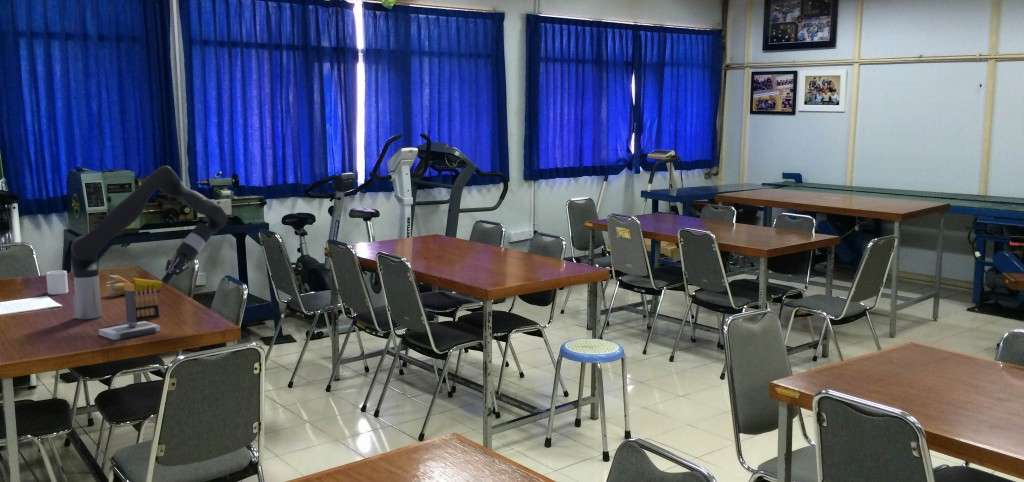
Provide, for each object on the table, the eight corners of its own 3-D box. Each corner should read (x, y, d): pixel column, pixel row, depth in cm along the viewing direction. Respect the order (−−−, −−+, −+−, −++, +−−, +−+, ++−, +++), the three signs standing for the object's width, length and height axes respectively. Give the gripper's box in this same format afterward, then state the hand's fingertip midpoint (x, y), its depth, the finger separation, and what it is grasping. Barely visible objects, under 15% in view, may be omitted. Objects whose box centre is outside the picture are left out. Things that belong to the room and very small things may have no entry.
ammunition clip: (132, 320, 358) (130, 291, 357) (130, 319, 360) (128, 290, 358) (159, 316, 365) (157, 288, 363) (158, 316, 366) (156, 287, 365)
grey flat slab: (144, 326, 349) (144, 320, 349) (160, 330, 341) (159, 325, 341) (98, 334, 336) (98, 329, 335) (113, 339, 328) (113, 334, 328)
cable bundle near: (153, 332, 339) (152, 326, 339) (156, 333, 337) (155, 327, 337) (119, 339, 329) (118, 333, 329) (122, 340, 328) (121, 334, 327)
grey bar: (134, 326, 349) (134, 320, 348) (137, 327, 347) (136, 321, 347) (100, 332, 339) (100, 327, 339) (103, 333, 337) (103, 327, 337)
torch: (161, 298, 419) (105, 298, 404) (157, 288, 425) (101, 288, 409) (165, 284, 416) (108, 284, 400) (161, 274, 421) (105, 273, 406)
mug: (69, 293, 415) (68, 272, 413) (49, 295, 410) (47, 274, 408) (65, 289, 424) (64, 268, 423) (45, 291, 420) (43, 270, 418)
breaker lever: (132, 324, 341) (129, 282, 339) (137, 326, 338) (134, 284, 336) (126, 326, 339) (123, 283, 337) (131, 327, 337) (128, 285, 334)
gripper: (206, 254, 352) (179, 290, 345) (188, 250, 360) (162, 285, 353) (193, 243, 347) (165, 278, 340) (175, 239, 356) (148, 274, 348)
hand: (163, 282), depth 347 cm, fingers closed
